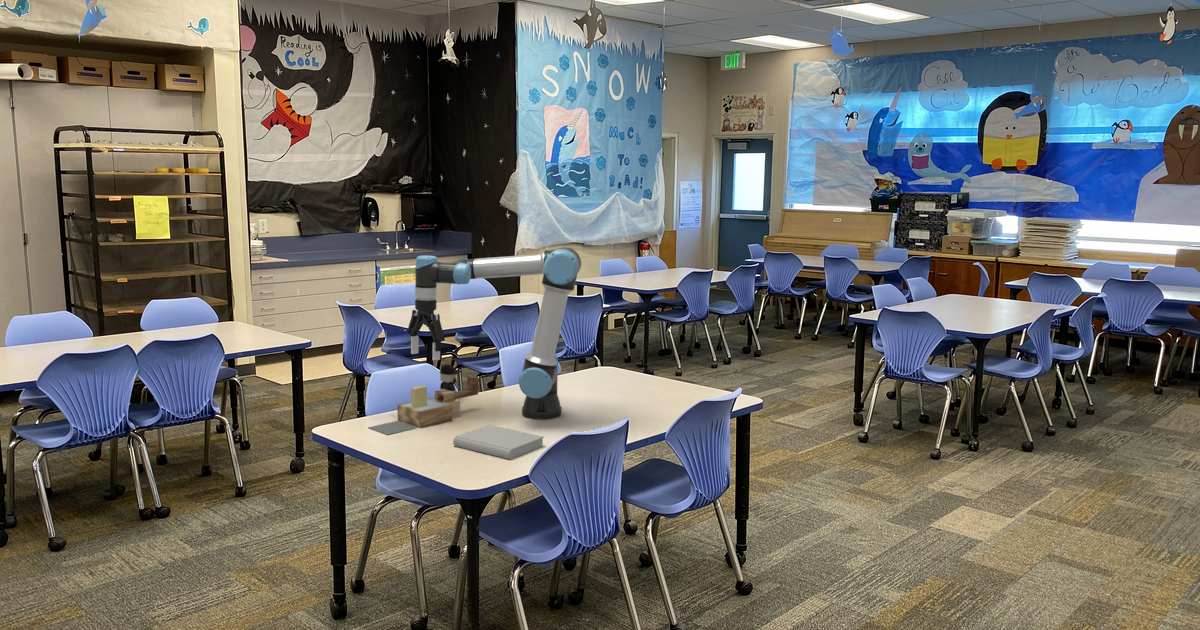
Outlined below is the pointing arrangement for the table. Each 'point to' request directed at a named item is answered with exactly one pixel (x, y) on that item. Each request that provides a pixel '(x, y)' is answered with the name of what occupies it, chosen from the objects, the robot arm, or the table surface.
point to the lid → (422, 400)
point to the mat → (392, 427)
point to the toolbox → (431, 411)
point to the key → (468, 388)
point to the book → (499, 441)
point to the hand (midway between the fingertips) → (425, 356)
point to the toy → (448, 377)
